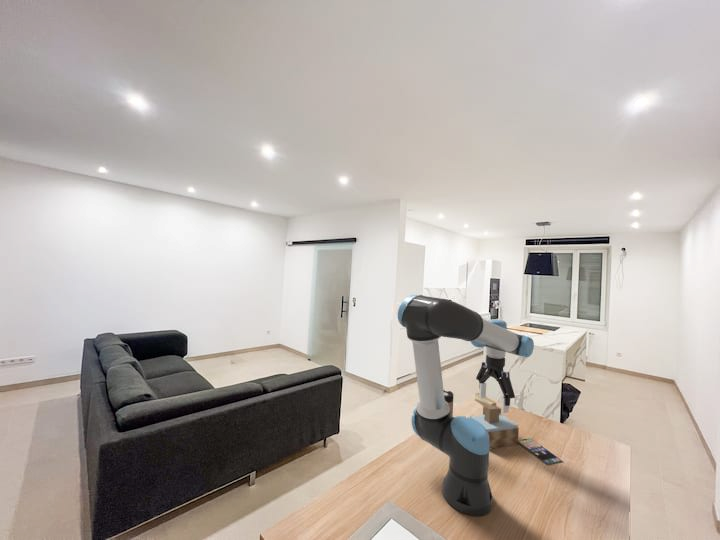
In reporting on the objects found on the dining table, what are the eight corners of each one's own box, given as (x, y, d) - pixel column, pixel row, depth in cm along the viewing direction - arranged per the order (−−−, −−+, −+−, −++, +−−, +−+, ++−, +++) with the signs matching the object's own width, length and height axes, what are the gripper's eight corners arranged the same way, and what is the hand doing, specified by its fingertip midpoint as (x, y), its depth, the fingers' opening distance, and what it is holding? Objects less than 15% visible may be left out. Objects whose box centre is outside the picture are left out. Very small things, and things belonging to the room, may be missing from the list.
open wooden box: (486, 449, 122) (487, 426, 122) (463, 429, 137) (464, 408, 136) (519, 443, 127) (520, 421, 127) (493, 424, 142) (494, 404, 141)
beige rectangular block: (490, 411, 137) (491, 403, 137) (474, 400, 148) (475, 393, 148) (496, 410, 138) (496, 403, 138) (479, 399, 149) (480, 392, 149)
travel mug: (438, 445, 123) (441, 397, 123) (429, 435, 131) (431, 389, 130) (455, 443, 126) (457, 396, 125) (445, 433, 133) (447, 388, 132)
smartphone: (547, 466, 114) (547, 463, 114) (515, 443, 128) (516, 440, 128) (563, 463, 117) (563, 459, 116) (530, 440, 131) (530, 437, 131)
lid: (486, 434, 122) (487, 414, 122) (469, 421, 132) (470, 402, 132) (517, 430, 127) (518, 411, 126) (499, 417, 137) (500, 399, 137)
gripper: (526, 365, 118) (523, 418, 119) (483, 347, 142) (480, 391, 142) (511, 366, 116) (508, 420, 116) (469, 348, 140) (467, 393, 140)
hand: (493, 404), depth 129 cm, fingers open, 13 cm apart
